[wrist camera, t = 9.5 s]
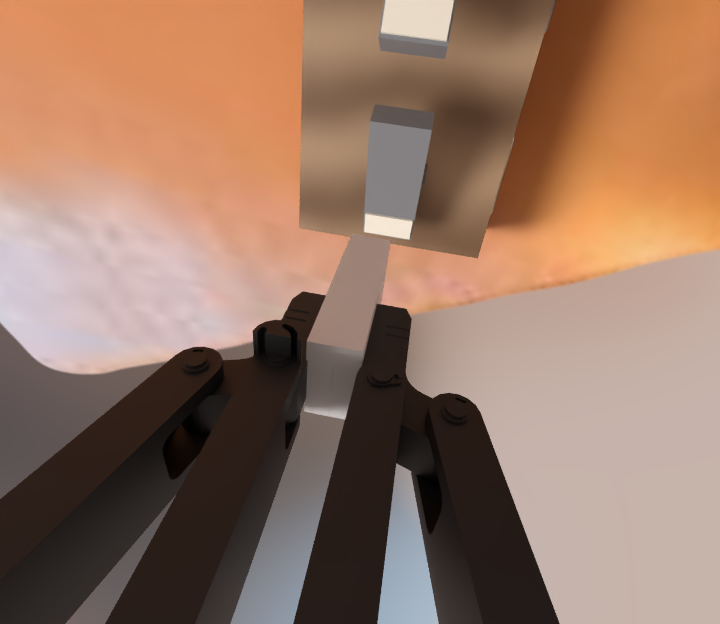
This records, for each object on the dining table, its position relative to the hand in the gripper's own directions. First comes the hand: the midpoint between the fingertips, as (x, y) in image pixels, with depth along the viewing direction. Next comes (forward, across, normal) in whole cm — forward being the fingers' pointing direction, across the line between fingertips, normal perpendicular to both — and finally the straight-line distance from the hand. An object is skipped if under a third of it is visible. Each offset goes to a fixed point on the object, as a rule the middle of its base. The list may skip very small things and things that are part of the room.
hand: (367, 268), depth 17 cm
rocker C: (+11, 0, 0) cm, 11 cm away
